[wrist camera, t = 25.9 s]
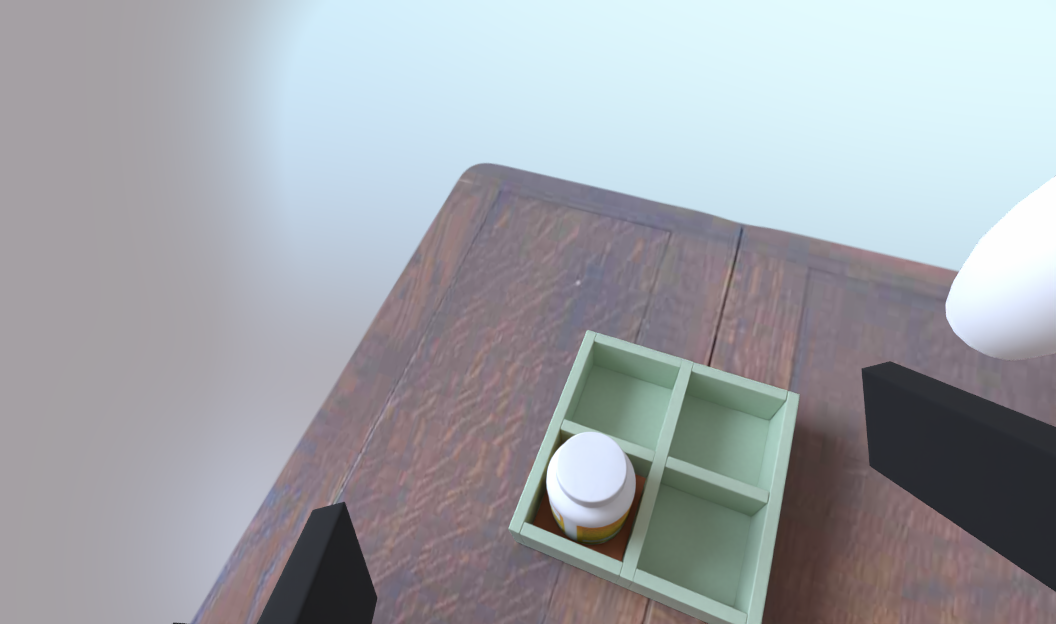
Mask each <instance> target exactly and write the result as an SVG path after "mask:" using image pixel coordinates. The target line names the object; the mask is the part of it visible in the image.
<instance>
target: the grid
mask: <svg viewBox="0 0 1056 624" xmlns="http://www.w3.org/2000/svg"><path fill="white" fill-rule="evenodd" d="M799 399H800V395H799V394H796V393H793V392H790V391H787V390H783V389H780V388H777V387H773V386H770V385H767V384H764V383H760V382H757V381H754V380H750V379H747V378H744V377H741V376H737V375H734V374H731V373H728V372H724V371H721V370H718V369H714V368H711V367H708V366H705V365H701V364H698V363H694V362H692V361H689V360H686V359H682V358H679V357H675V356H672V355H669V354H665V353H662V352H659V351H656V350H652V349H649V348H646V347H642V346H639V345H636V344H633V343H629V342H626V341H623V340H619V339H616V338H613V337H610V336H606V335H603V334H600V333H596V332H593V331H590V330H587V332H586V335H585V337H584V340H583V342H582V345H581V347H580V350H579V352H578V355H577V357H576V360H575V362H574V365H573V367H572V370H571V372H570V375H569V377H568V380H567V382H566V385H565V387H564V390H563V392H562V395H561V397H560V400H559V402H558V405H557V407H556V410H555V412H554V415H553V418H552V420H551V423H550V425H549V428H548V430H547V433H546V435H545V438H544V440H543V443H542V445H541V448H540V450H539V453H538V455H537V458H536V460H535V463H534V465H533V468H532V470H531V473H530V475H529V478H528V480H527V483H526V485H525V488H524V490H523V493H522V495H521V498H520V500H519V503H518V506H517V508H516V511H515V513H514V516H513V518H512V521H511V523H510V526H509V531H510V532H511V534H512V536H513V537H514V539H515V541H516V542H518V543H521V544H523V545H525V546H528V547H530V548H532V549H535V550H537V551H540V552H542V553H544V554H547V555H549V556H551V557H554V558H556V559H558V560H561V561H563V562H565V563H568V564H570V565H572V566H575V567H577V568H579V569H582V570H584V571H586V572H589V573H591V574H593V575H596V576H598V577H601V578H603V579H605V580H608V581H610V582H612V583H615V584H617V585H619V586H622V587H624V588H626V589H629V590H631V591H633V592H636V593H638V594H640V595H643V596H645V597H647V598H650V599H652V600H654V601H657V602H659V603H662V604H664V605H666V606H669V607H671V608H673V609H676V610H678V611H680V612H683V613H685V614H687V615H690V616H692V617H694V618H697V619H699V620H701V621H704V622H706V623H708V624H762V618H763V612H764V606H765V600H766V594H767V588H768V582H769V576H770V570H771V565H772V559H773V553H774V547H775V541H776V535H777V529H778V523H779V517H780V511H781V505H782V499H783V493H784V487H785V482H786V476H787V470H788V464H789V458H790V452H791V446H792V440H793V434H794V428H795V422H796V416H797V410H798V404H799ZM584 432H597V433H601V434H604V435H606V436H608V437H610V438H611V439H613V440H614V441H615V442H616V443H617V444H618V445H619V446H620V447H621V449H622V450H623V451H624V452H625V453H626V455H627V456H628V458H629V460H630V461H631V463H632V466H633V469H634V472H635V478H636V488H635V495H634V499H633V502H632V505H631V508H630V511H629V514H628V517H627V520H626V522H625V524H624V526H623V527H622V529H621V530H620V532H619V533H618V534H617V535H616V536H615V537H613V538H612V539H610V540H609V541H607V542H604V543H601V544H595V545H588V544H582V543H579V542H576V541H574V540H572V539H570V538H569V537H568V536H566V535H565V534H564V533H563V532H562V531H561V529H560V528H559V527H558V525H557V523H556V521H555V519H554V517H553V514H552V510H551V505H550V501H549V495H548V491H547V484H546V479H547V470H548V466H549V463H550V461H551V459H552V457H553V455H554V454H555V452H556V451H557V450H558V449H559V448H560V447H561V446H562V445H563V444H564V443H565V442H566V441H567V440H568V439H570V438H571V437H573V436H575V435H577V434H580V433H584Z"/></svg>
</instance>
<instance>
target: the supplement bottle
mask: <svg viewBox="0 0 1056 624" xmlns="http://www.w3.org/2000/svg"><path fill="white" fill-rule="evenodd" d="M546 484H547V491H548V495H549V501H550V505H551V510H552V514H553V517H554V519H555V521H556V523H557V525H558V527H559V528H560V529H561V531H562V532H563V533H564V534H565V535H566V536H568V537H569V538H570V539H572V540H574V541H576V542H579V543H582V544H588V545H595V544H601V543H604V542H607V541H609V540H610V539H612V538H613V537H615V536H616V535H617V534H618V533H619V532H620V530H621V529H622V527H623V526H624V524H625V522H626V520H627V517H628V514H629V511H630V508H631V505H632V502H633V499H634V495H635V488H636V478H635V472H634V469H633V466H632V463H631V461H630V460H629V458H628V456H627V455H626V453H625V452H624V451H623V450H622V449H621V447H620V446H619V445H618V444H617V443H616V442H615V441H614V440H613V439H611V438H610V437H608V436H606V435H604V434H601V433H597V432H584V433H580V434H577V435H575V436H573V437H571V438H570V439H568V440H567V441H566V442H565V443H564V444H563V445H562V446H561V447H560V448H559V449H558V450H557V451H556V452H555V454H554V455H553V457H552V459H551V461H550V463H549V466H548V470H547V479H546Z"/></svg>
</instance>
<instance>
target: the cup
mask: <svg viewBox="0 0 1056 624" xmlns="http://www.w3.org/2000/svg"><path fill="white" fill-rule="evenodd" d="M946 318H947V320H948V322H949V323H950V325H951V327H952V329H953V331H954V333H956V334H957V335H958V336H959V337H960V338H961V339H962V340H963V341H964V342H965V343H966V344H968V345H969V346H970V347H972V348H974V349H976V350H978V351H980V352H982V353H984V354H986V355H987V356H991V357H995V358H1000V359H1004V360H1009V361H1010V360H1021V359H1029V358H1034V357H1039V356H1044V355H1049V354H1053V353H1056V176H1055V177H1054V178H1052V179H1051V180H1049V181H1048V182H1047V183H1045V184H1044V185H1042V186H1041V187H1040V188H1038V189H1037V190H1036V191H1034V192H1033V193H1032V194H1030V195H1029V196H1027V197H1026V198H1025V199H1023V200H1022V201H1021V202H1019V203H1018V204H1017V205H1015V206H1014V208H1012V209H1011V210H1010V211H1009V212H1008V213H1007V214H1006V215H1005V216H1004V217H1003V218H1002V219H1001V220H1000V221H999V222H997V223H996V224H995V225H994V226H993V227H992V228H991V229H990V230H989V231H988V232H987V233H986V234H985V235H984V236H983V237H982V238H981V239H980V240H979V242H978V243H977V245H976V246H975V248H974V250H973V251H972V253H971V254H970V256H969V257H968V259H967V260H966V262H965V263H964V265H963V267H962V268H961V270H960V271H959V273H958V275H957V276H956V278H955V280H954V281H953V284H952V287H951V290H950V293H949V295H948V298H947V301H946Z"/></svg>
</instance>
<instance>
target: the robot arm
mask: <svg viewBox="0 0 1056 624" xmlns="http://www.w3.org/2000/svg"><path fill="white" fill-rule="evenodd" d="M862 379H863V391H864V402H865V414H866V426H867V438H868V450H869V462H870V466H871V467H872V468H874V469H875V470H877V471H878V472H880V473H881V474H883V475H884V476H886V477H887V478H889V479H890V480H891V481H893V482H894V483H896V484H897V485H899V486H900V487H902V488H903V489H905V490H906V491H908V492H909V493H911V494H912V495H914V496H915V497H917V498H918V499H920V500H921V501H922V502H924V503H925V504H927V505H928V506H930V507H931V508H933V509H934V510H936V511H937V512H939V513H940V514H942V515H943V516H945V517H946V518H948V519H949V520H951V521H952V522H953V523H955V524H956V525H958V526H959V527H961V528H962V529H964V530H965V531H967V532H968V533H970V534H971V535H973V536H974V537H976V538H977V539H979V540H980V541H982V542H983V543H984V544H986V545H987V546H989V547H990V548H992V549H993V550H995V551H996V552H998V553H999V554H1001V555H1002V556H1004V557H1005V558H1007V559H1008V560H1010V561H1011V562H1012V563H1014V564H1015V565H1017V566H1018V567H1020V568H1021V569H1023V570H1024V571H1026V572H1027V573H1029V574H1030V575H1032V576H1033V577H1035V578H1036V579H1038V580H1039V581H1041V582H1042V583H1043V584H1045V585H1046V586H1048V587H1049V588H1051V589H1052V590H1054V591H1055V592H1056V427H1054V426H1051V425H1049V424H1046V423H1044V422H1041V421H1039V420H1036V419H1034V418H1031V417H1029V416H1026V415H1024V414H1021V413H1019V412H1016V411H1014V410H1011V409H1009V408H1006V407H1004V406H1001V405H999V404H996V403H994V402H991V401H989V400H986V399H984V398H981V397H979V396H976V395H973V394H971V393H968V392H966V391H963V390H961V389H958V388H956V387H953V386H951V385H948V384H946V383H943V382H941V381H938V380H936V379H933V378H931V377H928V376H926V375H923V374H921V373H918V372H916V371H913V370H911V369H908V368H906V367H903V366H901V365H898V364H896V363H893V362H886V363H882V364H878V365H874V366H870V367H866V368H862ZM376 602H377V596H376V593H375V590H374V587H373V584H372V581H371V578H370V575H369V572H368V569H367V566H366V563H365V560H364V557H363V554H362V551H361V548H360V545H359V542H358V539H357V536H356V533H355V530H354V528H353V525H352V522H351V519H350V516H349V513H348V510H347V507H346V504H345V502H342V503H338V504H334V505H331V506H327V507H323V508H319V509H315V510H313V511H312V513H311V515H310V517H309V519H308V521H307V523H306V525H305V527H304V529H303V531H302V533H301V535H300V537H299V539H298V541H297V543H296V545H295V548H294V550H293V552H292V554H291V556H290V558H289V560H288V562H287V564H286V566H285V568H284V570H283V572H282V574H281V576H280V578H279V580H278V582H277V584H276V586H275V588H274V590H273V592H272V594H271V596H270V599H269V601H268V603H267V605H266V607H265V609H264V611H263V613H262V615H261V617H260V619H259V621H258V623H257V624H372V619H373V615H374V610H375V606H376Z"/></svg>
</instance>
